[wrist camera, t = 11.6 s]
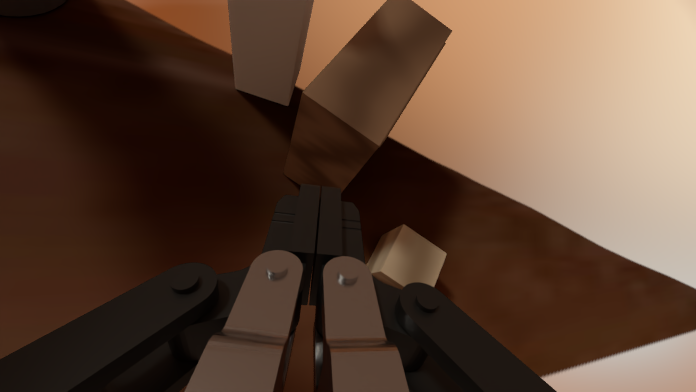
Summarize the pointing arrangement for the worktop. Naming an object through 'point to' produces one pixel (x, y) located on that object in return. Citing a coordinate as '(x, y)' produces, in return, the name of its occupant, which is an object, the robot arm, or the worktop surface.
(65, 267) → the worktop surface
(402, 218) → the worktop surface
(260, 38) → the milk
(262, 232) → the worktop surface
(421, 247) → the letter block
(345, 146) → the walnut panel
